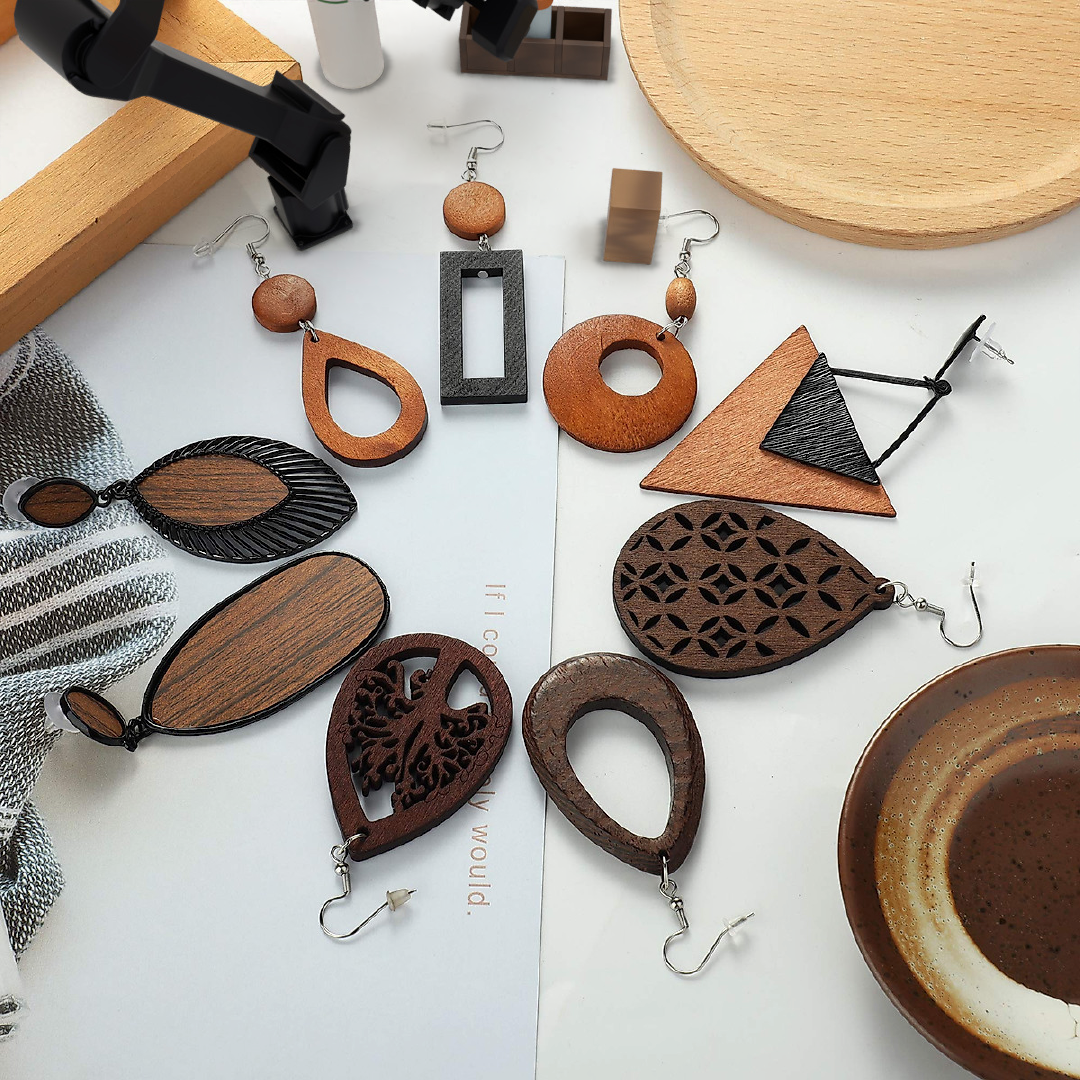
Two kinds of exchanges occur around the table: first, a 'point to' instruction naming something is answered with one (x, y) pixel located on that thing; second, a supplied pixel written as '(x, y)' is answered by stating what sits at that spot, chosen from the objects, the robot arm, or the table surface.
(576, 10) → the box
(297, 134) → the robot arm
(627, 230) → the tube stand
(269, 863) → the table surface
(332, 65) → the cylindrical container
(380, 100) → the table surface
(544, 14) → the test tube
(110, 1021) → the table surface
